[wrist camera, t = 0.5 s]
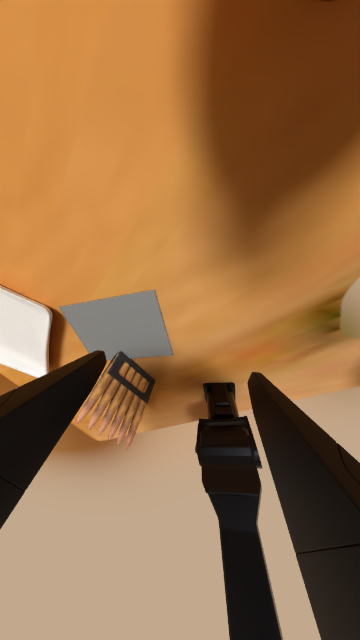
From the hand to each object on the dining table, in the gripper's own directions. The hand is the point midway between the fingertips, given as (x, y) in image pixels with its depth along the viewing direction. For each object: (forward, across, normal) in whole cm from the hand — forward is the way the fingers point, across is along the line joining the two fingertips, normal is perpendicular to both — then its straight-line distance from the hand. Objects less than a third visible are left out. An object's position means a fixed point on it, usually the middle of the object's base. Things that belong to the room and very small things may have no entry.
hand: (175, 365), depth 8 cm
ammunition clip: (+14, +10, +17) cm, 24 cm away
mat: (+14, +12, +8) cm, 20 cm away
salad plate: (+14, +36, +9) cm, 40 cm away
